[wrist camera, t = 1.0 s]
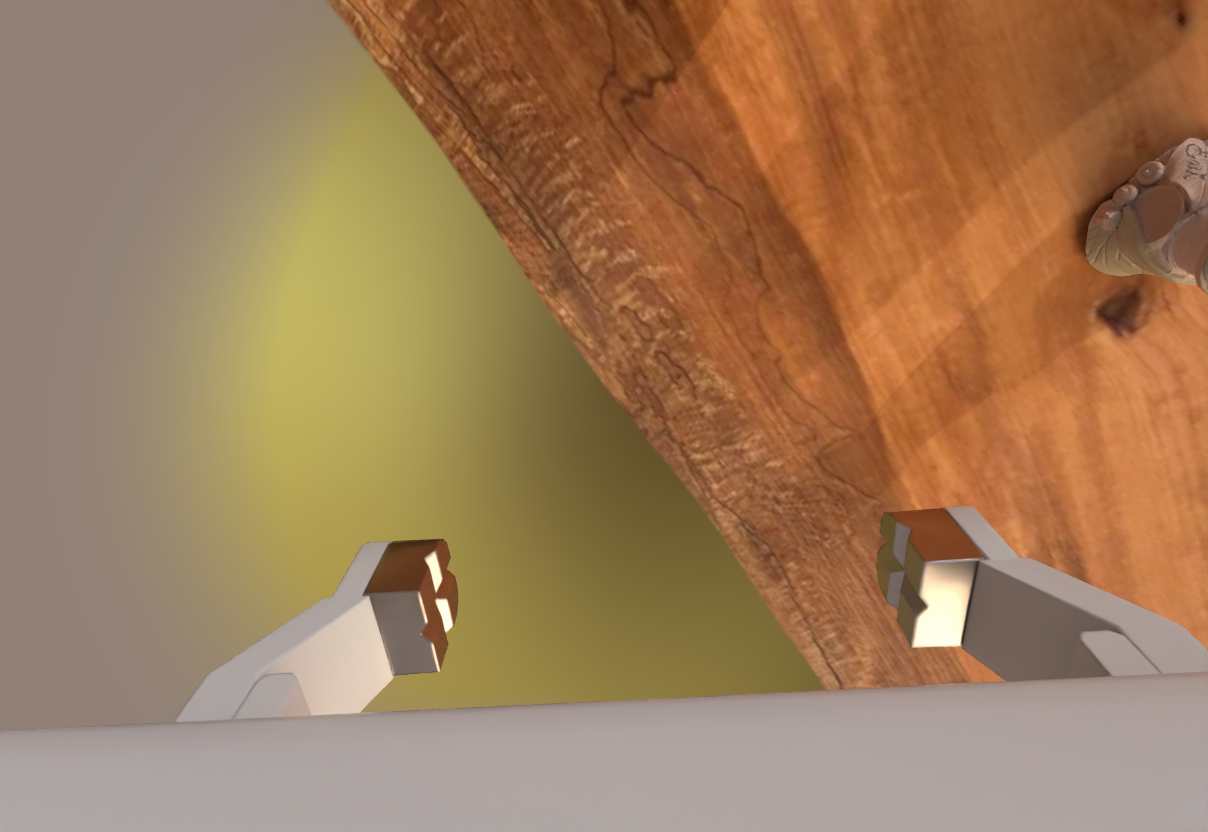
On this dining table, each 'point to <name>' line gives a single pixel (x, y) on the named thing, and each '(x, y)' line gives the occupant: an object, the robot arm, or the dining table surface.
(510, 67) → the dining table surface
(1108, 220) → the figurine
